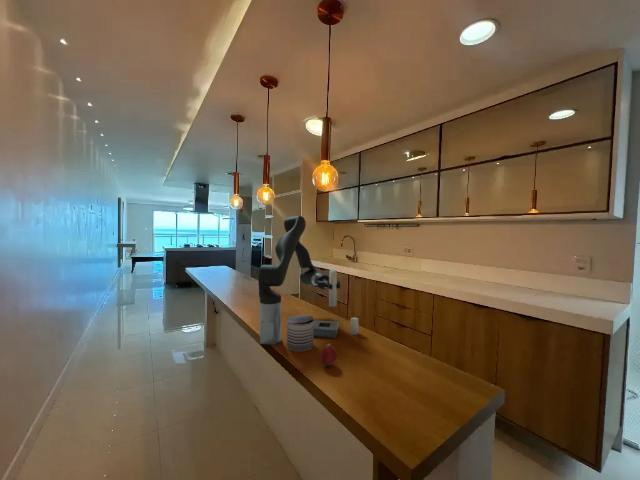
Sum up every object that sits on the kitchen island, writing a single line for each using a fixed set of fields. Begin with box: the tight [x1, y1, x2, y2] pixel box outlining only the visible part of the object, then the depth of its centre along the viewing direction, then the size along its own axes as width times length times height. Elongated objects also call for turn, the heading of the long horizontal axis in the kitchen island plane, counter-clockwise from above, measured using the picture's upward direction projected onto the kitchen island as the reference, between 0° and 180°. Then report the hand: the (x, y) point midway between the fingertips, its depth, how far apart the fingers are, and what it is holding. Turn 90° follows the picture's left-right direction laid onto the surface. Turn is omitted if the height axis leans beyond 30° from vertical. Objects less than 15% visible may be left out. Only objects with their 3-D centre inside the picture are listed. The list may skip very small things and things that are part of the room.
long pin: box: [328, 269, 338, 308], centre depth 134 cm, size 4×4×17 cm
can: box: [286, 314, 314, 352], centre depth 116 cm, size 11×11×12 cm
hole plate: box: [313, 319, 339, 339], centre depth 132 cm, size 12×12×4 cm
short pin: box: [350, 317, 359, 336], centre depth 130 cm, size 4×4×7 cm
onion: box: [320, 343, 338, 367], centre depth 99 cm, size 6×6×8 cm
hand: (335, 286), depth 131 cm, fingers closed on long pin, 3 cm apart
